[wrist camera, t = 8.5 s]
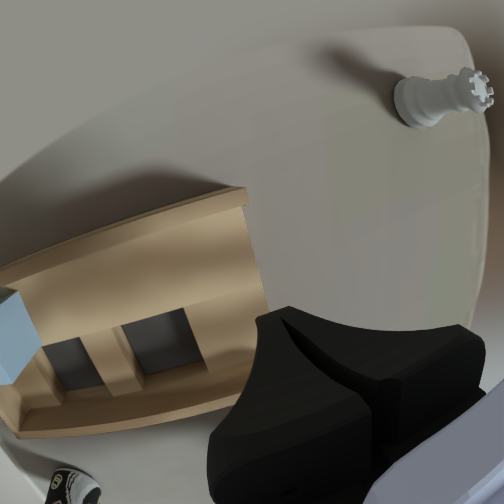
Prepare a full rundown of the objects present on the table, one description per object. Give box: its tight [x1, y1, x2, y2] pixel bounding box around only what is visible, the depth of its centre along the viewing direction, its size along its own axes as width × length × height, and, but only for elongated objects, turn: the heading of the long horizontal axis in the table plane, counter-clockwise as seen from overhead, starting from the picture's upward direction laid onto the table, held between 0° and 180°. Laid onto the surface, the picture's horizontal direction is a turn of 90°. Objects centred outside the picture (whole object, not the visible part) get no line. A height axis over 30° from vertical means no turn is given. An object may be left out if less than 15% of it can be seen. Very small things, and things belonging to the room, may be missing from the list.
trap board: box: [0, 186, 269, 439], centre depth 17 cm, size 12×22×5 cm, turn 104°
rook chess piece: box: [394, 67, 494, 129], centre depth 17 cm, size 4×4×8 cm
